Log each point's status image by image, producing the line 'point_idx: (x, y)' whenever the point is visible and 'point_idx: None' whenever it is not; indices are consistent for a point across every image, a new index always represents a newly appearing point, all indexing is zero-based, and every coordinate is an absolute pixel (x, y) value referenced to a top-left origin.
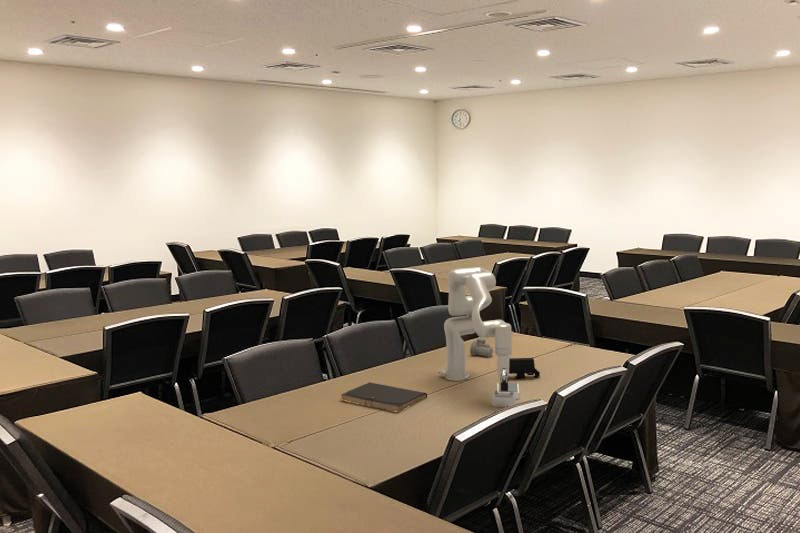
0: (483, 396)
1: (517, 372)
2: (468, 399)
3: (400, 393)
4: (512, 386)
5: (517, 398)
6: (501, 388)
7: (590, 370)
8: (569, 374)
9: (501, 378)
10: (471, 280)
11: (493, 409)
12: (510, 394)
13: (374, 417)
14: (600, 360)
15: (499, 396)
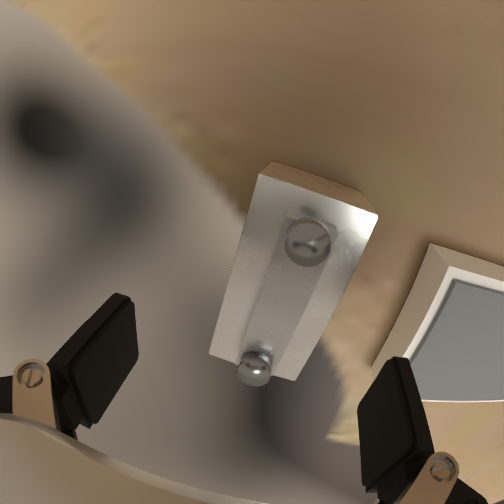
0: (498, 155)
1: None
2: (452, 23)
3: None
4: (485, 380)
5: (376, 362)
6: (100, 313)
7: None
8: (486, 477)
9: (14, 411)
10: None
11: (194, 157)
12: (244, 353)
13: None
14: (499, 494)
15: (264, 253)
